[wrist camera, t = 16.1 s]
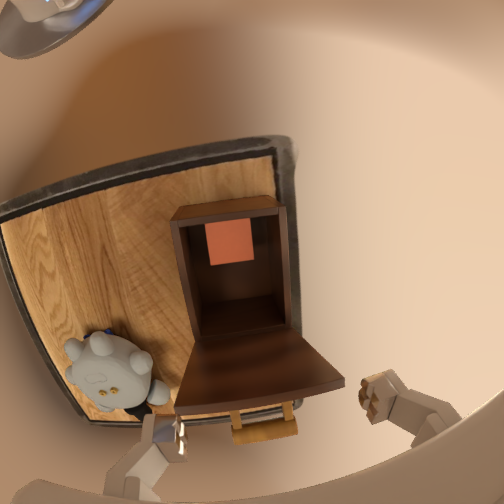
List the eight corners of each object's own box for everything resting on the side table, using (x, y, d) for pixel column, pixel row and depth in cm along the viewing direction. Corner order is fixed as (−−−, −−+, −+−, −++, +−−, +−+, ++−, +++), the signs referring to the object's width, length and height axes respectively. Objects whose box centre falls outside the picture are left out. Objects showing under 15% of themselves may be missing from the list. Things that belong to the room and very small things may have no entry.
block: (205, 214, 35) (204, 222, 30) (244, 209, 36) (249, 216, 31) (210, 251, 37) (210, 265, 32) (248, 246, 37) (254, 259, 32)
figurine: (53, 330, 37) (112, 401, 46) (35, 364, 30) (106, 434, 38) (133, 306, 38) (187, 387, 47) (122, 345, 30) (188, 425, 39)
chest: (179, 206, 35) (169, 221, 27) (268, 195, 36) (285, 206, 28) (197, 307, 40) (195, 343, 32) (276, 295, 41) (292, 328, 33)
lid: (173, 406, 16) (192, 465, 16) (345, 377, 17) (345, 437, 17) (194, 342, 31) (203, 384, 31) (292, 327, 32) (297, 369, 32)
